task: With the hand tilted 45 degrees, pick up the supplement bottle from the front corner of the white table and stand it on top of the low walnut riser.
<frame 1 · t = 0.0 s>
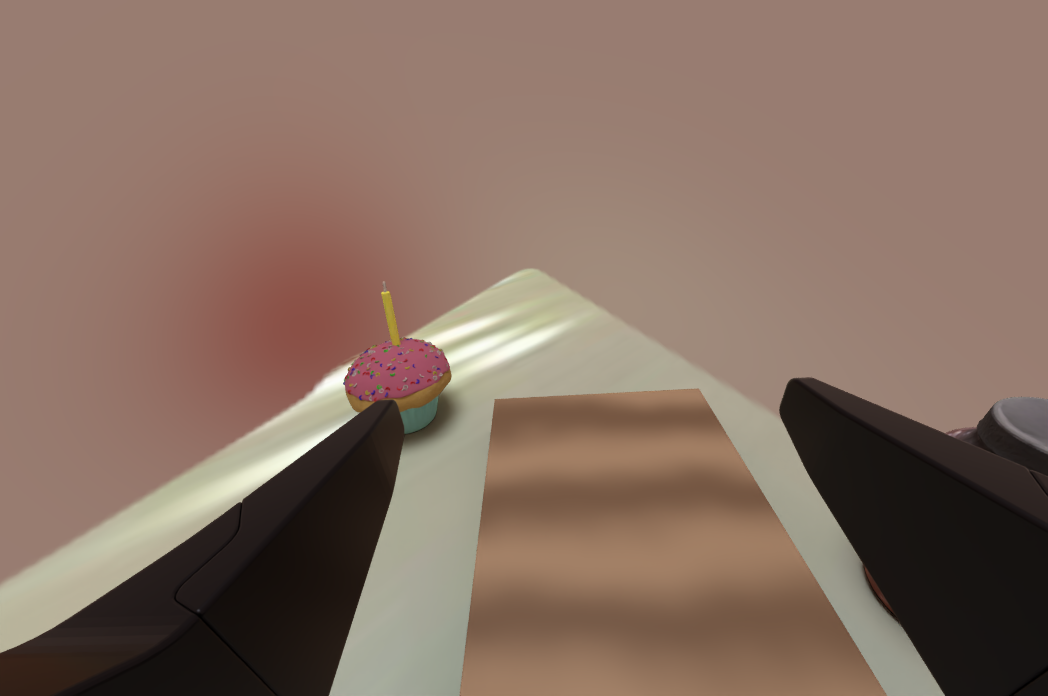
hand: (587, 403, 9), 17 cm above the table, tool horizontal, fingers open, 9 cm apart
walnut riser: (618, 533, 24), on the table
supplement bottle: (931, 598, 20), on the table
cupcake: (411, 418, 35), on the table
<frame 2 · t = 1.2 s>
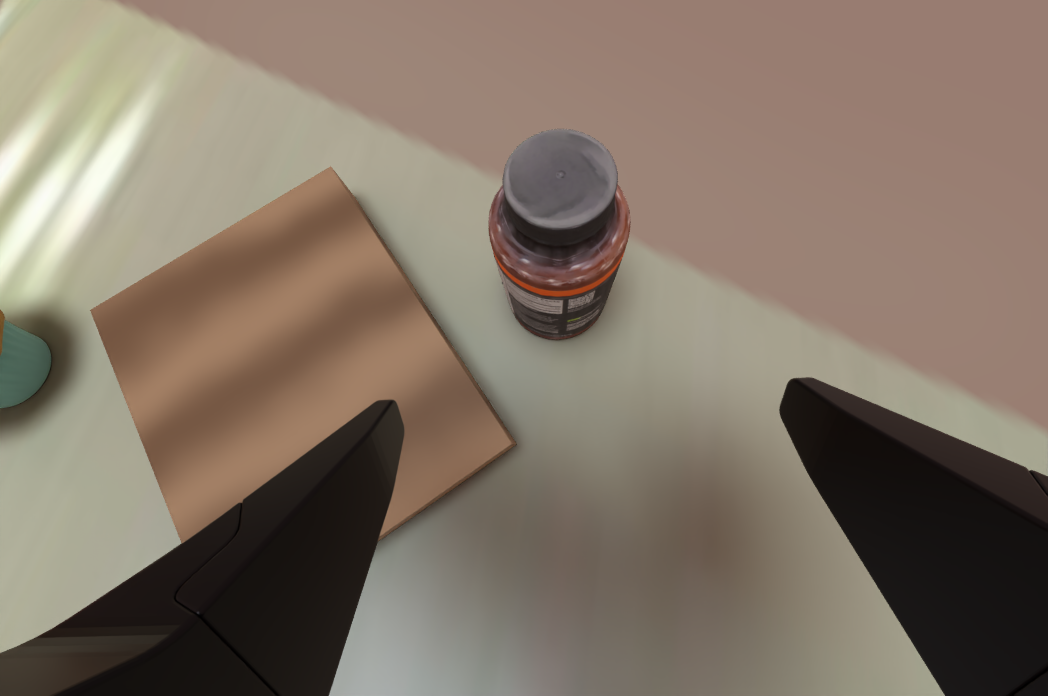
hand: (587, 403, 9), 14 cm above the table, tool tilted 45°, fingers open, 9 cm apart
walnut riser: (316, 380, 24), on the table
supplement bottle: (556, 297, 25), on the table
cupcake: (23, 370, 26), on the table
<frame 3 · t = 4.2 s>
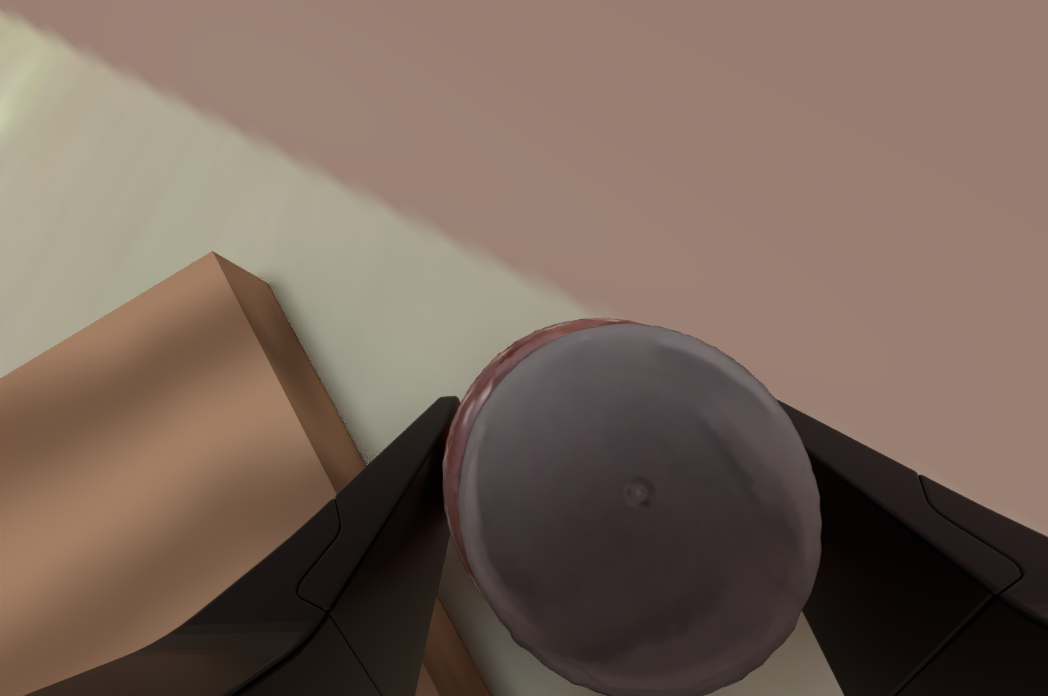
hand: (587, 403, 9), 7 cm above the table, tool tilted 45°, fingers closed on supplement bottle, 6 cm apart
walnut riser: (188, 598, 15), on the table
supplement bottle: (575, 457, 15), on the table, touching gripper
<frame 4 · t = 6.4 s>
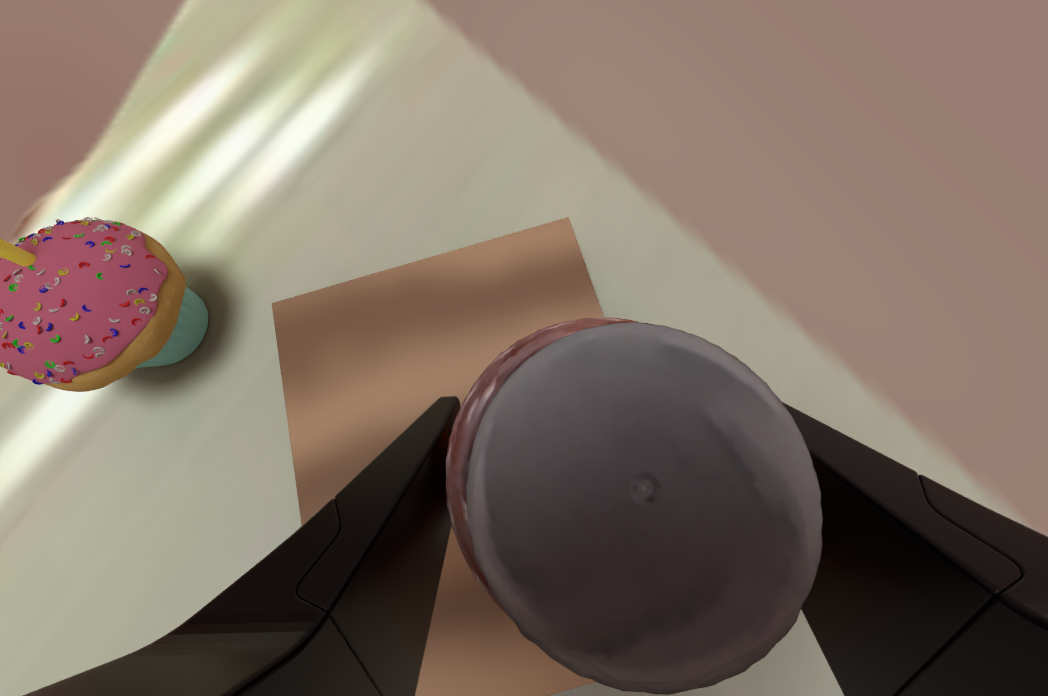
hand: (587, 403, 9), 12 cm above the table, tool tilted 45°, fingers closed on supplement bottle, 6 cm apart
walnut riser: (478, 450, 21), on the table
supplement bottle: (573, 456, 15), point 5 cm above the table, touching gripper
cupcake: (176, 328, 24), on the table
when the fingers open (10 cm above the table, at t = 8.8 s): supplement bottle stays where it is, resting on walnut riser.
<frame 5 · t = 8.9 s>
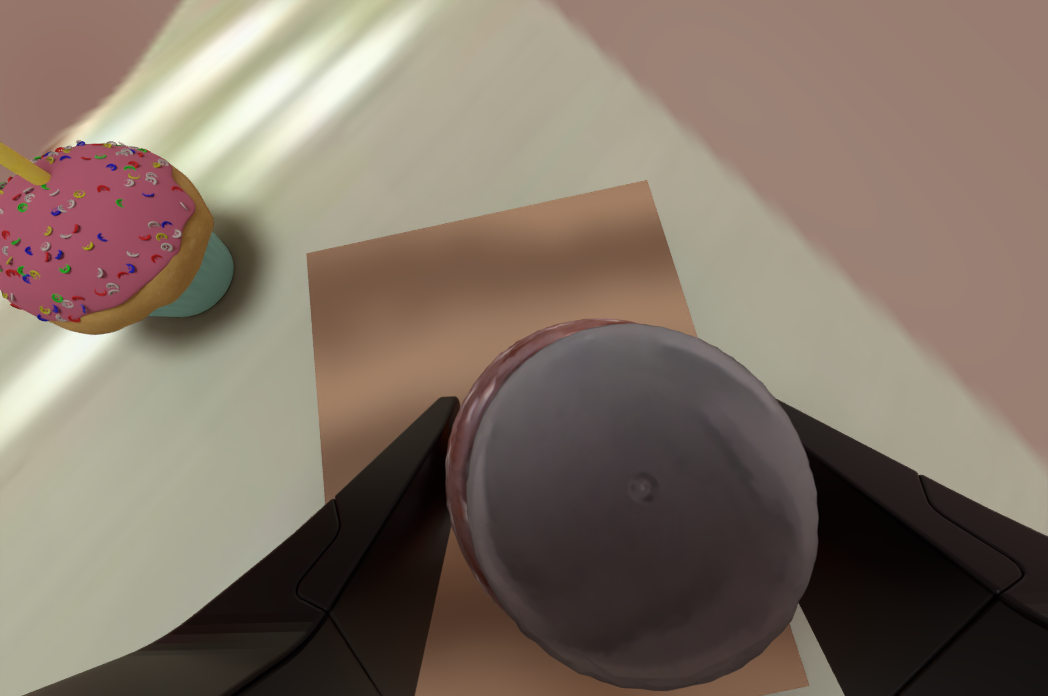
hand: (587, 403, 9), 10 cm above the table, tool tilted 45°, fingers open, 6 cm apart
walnut riser: (523, 436, 19), on the table
supplement bottle: (572, 456, 16), point 3 cm above the table, touching walnut riser
cupcake: (198, 278, 22), on the table
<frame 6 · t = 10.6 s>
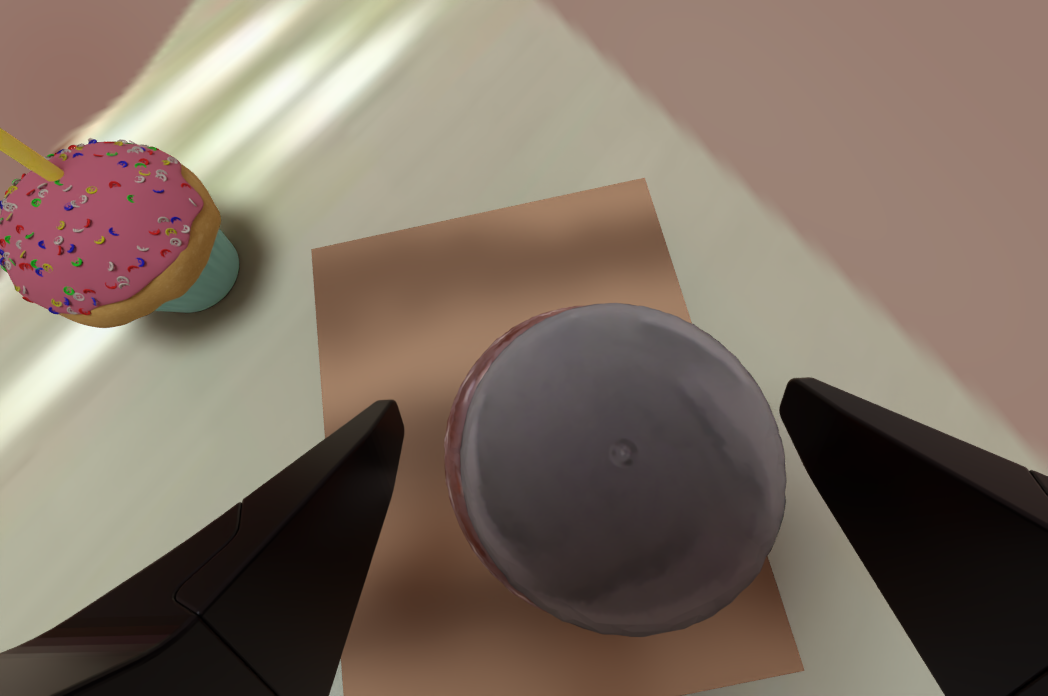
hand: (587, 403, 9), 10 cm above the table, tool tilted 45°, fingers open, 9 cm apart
walnut riser: (523, 429, 19), on the table
supplement bottle: (571, 446, 16), point 3 cm above the table, touching walnut riser
cupcake: (204, 275, 22), on the table
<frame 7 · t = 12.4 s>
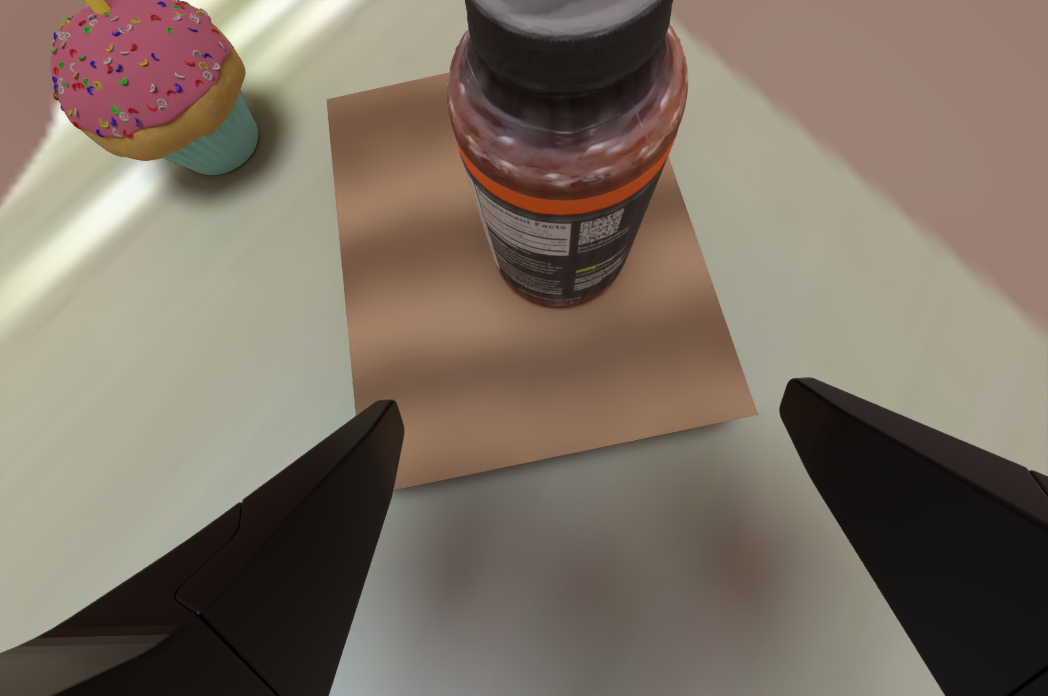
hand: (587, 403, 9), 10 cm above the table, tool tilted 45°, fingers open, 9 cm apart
walnut riser: (516, 264, 21), on the table
supplement bottle: (558, 251, 18), point 3 cm above the table, touching walnut riser
cupcake: (226, 145, 24), on the table
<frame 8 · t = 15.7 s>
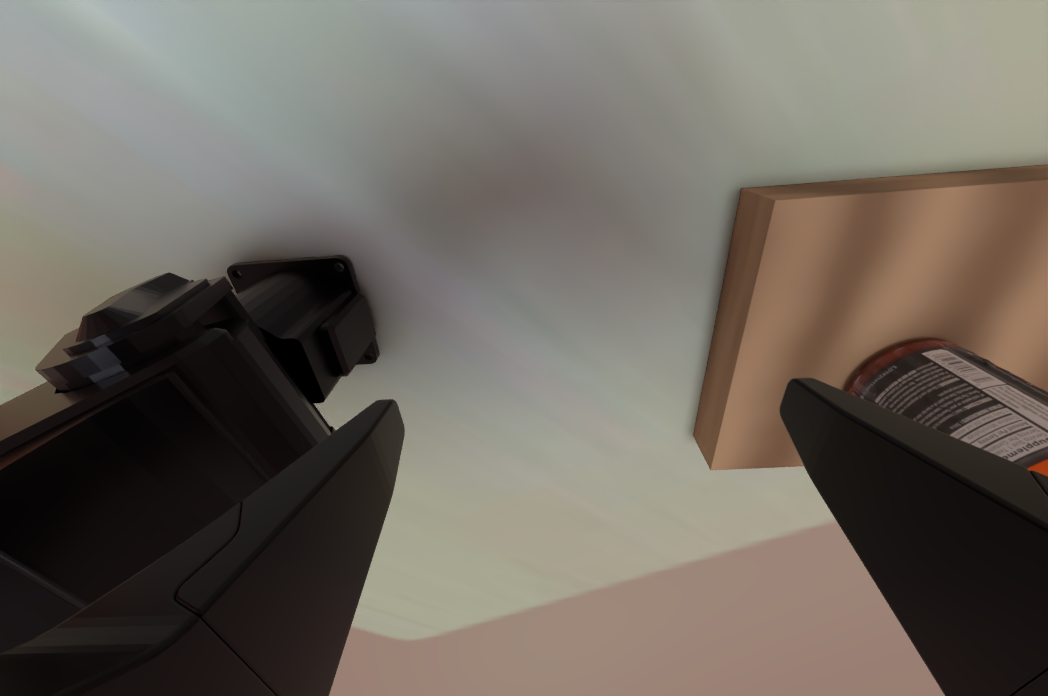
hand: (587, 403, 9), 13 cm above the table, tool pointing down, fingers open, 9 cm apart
walnut riser: (891, 323, 22), on the table
supplement bottle: (895, 380, 21), point 3 cm above the table, touching walnut riser
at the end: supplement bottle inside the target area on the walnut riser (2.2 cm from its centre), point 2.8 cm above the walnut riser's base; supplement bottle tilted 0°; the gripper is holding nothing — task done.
